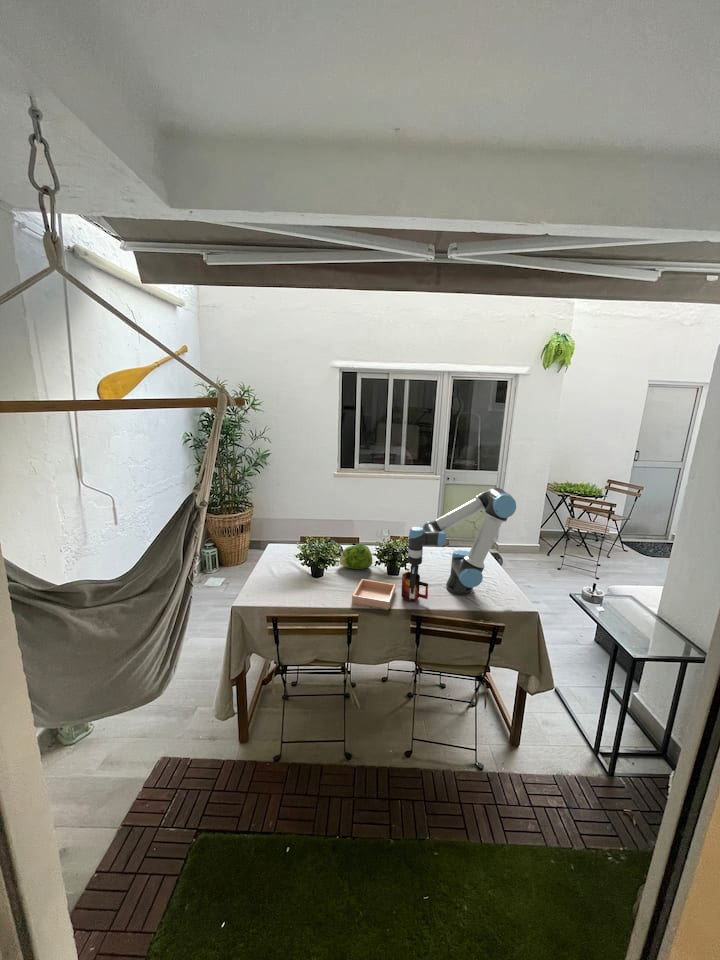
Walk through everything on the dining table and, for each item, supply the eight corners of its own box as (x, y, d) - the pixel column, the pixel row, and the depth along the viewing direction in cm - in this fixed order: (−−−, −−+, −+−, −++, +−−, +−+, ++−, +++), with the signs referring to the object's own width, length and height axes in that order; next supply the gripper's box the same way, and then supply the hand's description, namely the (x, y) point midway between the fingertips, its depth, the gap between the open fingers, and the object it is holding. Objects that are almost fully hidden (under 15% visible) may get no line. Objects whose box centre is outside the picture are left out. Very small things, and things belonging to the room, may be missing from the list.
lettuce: (342, 564, 269) (335, 545, 264) (372, 556, 269) (366, 536, 263) (343, 579, 255) (336, 559, 249) (375, 570, 254) (369, 550, 248)
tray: (395, 592, 231) (395, 584, 230) (388, 610, 213) (389, 602, 211) (361, 586, 236) (361, 578, 235) (351, 603, 217) (352, 595, 216)
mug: (427, 601, 219) (428, 580, 216) (401, 600, 220) (402, 579, 217) (425, 592, 229) (426, 572, 226) (400, 591, 229) (401, 571, 226)
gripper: (411, 547, 230) (409, 583, 235) (405, 563, 209) (403, 602, 214) (424, 548, 228) (422, 585, 233) (419, 565, 207) (417, 604, 212)
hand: (413, 593), depth 223 cm, fingers closed on mug, 10 cm apart
